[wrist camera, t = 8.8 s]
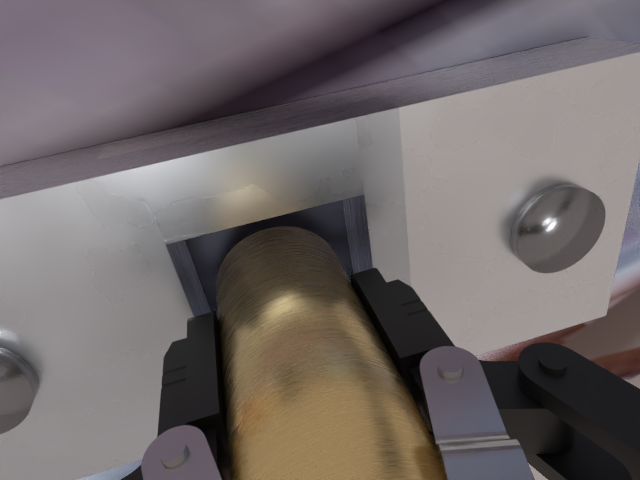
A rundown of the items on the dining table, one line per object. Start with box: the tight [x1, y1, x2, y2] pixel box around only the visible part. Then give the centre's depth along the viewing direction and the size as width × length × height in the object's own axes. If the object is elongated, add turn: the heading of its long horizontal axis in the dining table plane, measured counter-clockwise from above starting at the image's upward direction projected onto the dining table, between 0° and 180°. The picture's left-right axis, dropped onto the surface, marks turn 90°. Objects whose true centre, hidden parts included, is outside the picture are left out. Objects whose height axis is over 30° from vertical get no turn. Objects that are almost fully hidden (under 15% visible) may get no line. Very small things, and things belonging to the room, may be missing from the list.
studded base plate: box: [0, 37, 640, 480], centre depth 15 cm, size 24×10×4 cm, turn 99°
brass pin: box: [216, 226, 445, 480], centre depth 11 cm, size 4×4×9 cm
